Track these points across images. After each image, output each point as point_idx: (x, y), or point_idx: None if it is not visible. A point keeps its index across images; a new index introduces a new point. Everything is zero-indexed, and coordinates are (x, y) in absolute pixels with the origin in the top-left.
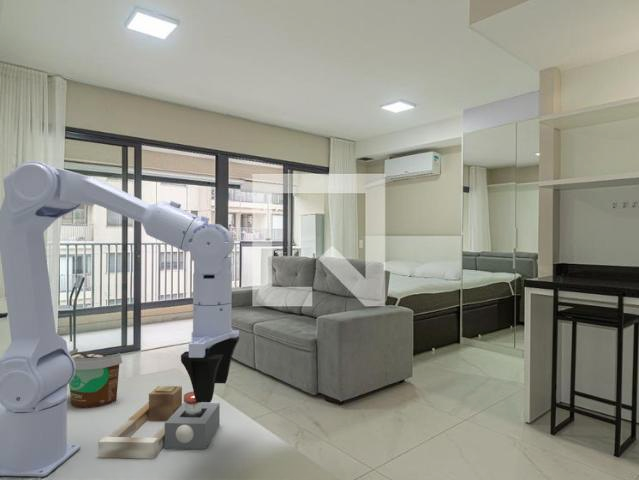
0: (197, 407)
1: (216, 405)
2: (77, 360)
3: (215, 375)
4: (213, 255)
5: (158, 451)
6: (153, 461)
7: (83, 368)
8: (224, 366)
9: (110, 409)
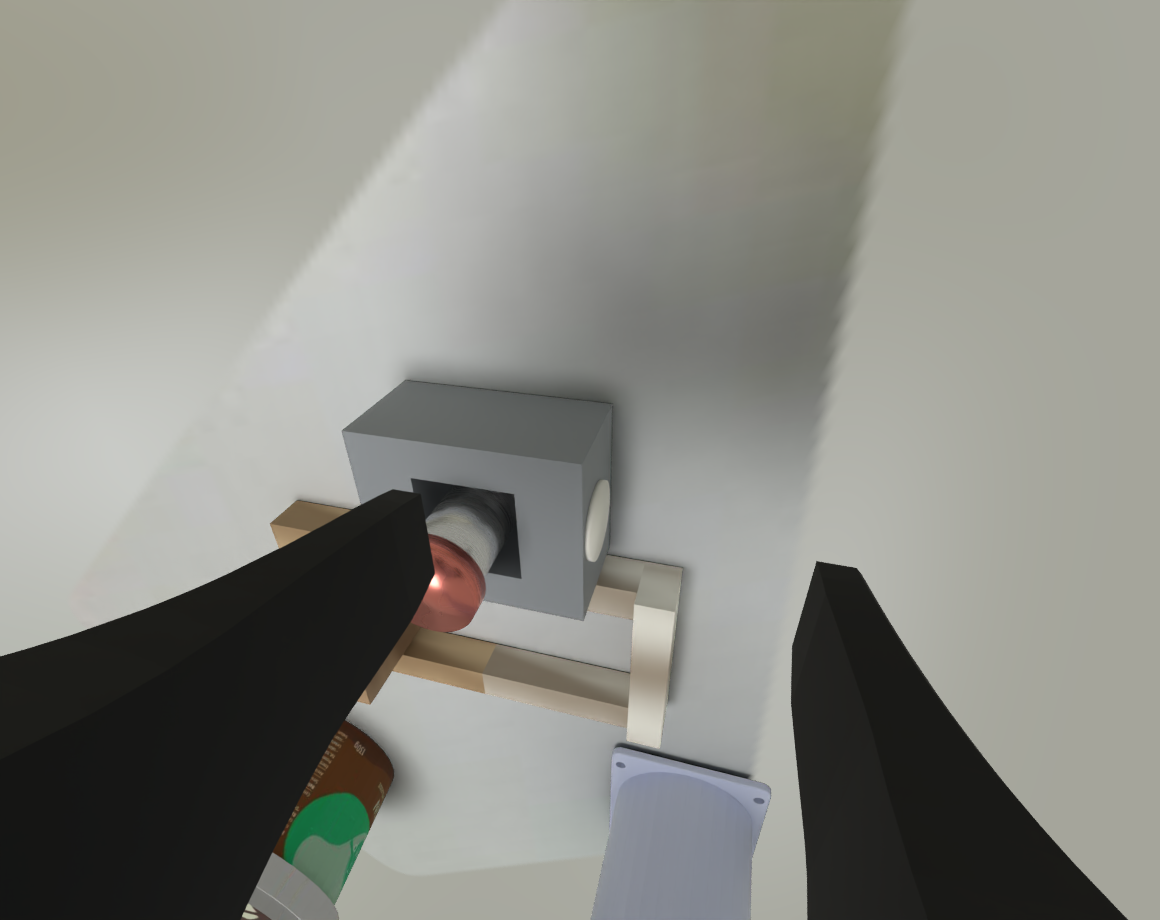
0: (472, 535)
1: (369, 441)
2: None
3: (919, 774)
4: None
5: (640, 564)
6: (702, 564)
7: (328, 907)
8: (326, 600)
9: (380, 716)
